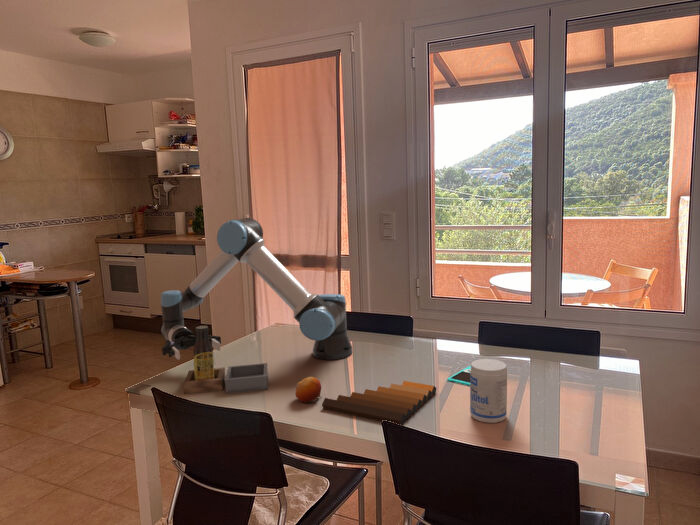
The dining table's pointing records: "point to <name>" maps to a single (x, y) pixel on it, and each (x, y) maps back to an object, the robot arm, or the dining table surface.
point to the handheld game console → (461, 377)
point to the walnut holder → (204, 382)
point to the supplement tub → (488, 390)
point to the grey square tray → (246, 378)
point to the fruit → (308, 389)
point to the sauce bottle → (203, 355)
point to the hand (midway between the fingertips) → (199, 351)
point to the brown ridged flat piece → (384, 402)
